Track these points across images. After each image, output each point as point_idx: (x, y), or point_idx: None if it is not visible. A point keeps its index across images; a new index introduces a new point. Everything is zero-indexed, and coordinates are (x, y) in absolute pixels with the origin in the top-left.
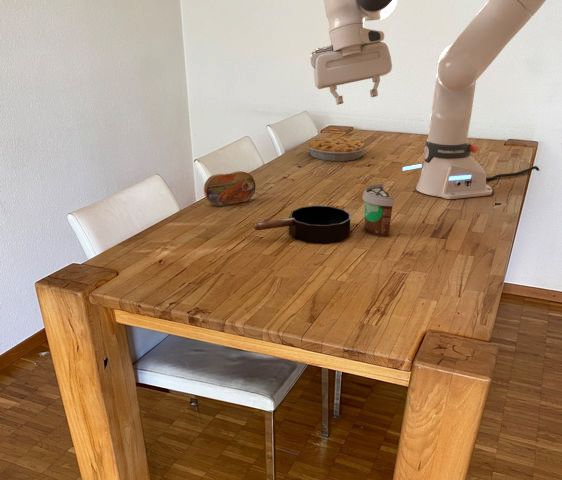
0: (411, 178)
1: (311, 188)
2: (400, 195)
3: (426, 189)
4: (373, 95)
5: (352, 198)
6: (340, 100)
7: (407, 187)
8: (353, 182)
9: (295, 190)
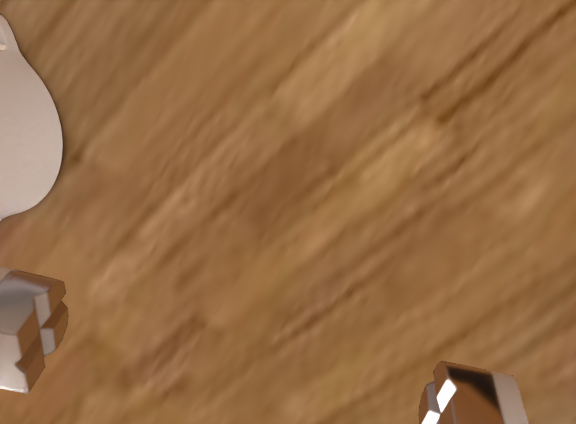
0: None
1: (407, 366)
2: (140, 140)
3: (40, 108)
4: (45, 279)
5: (327, 188)
6: (482, 388)
7: (74, 212)
8: (222, 351)
9: None
